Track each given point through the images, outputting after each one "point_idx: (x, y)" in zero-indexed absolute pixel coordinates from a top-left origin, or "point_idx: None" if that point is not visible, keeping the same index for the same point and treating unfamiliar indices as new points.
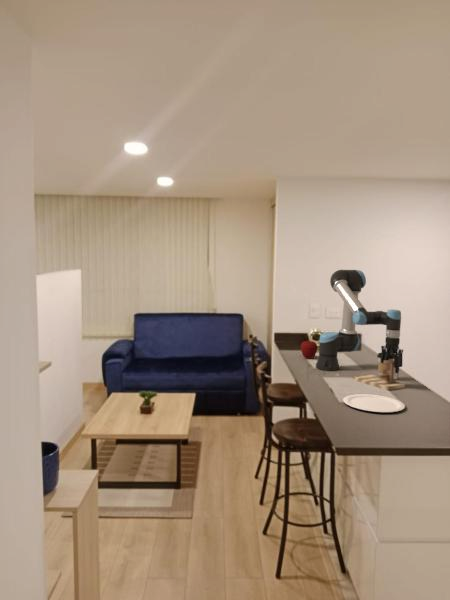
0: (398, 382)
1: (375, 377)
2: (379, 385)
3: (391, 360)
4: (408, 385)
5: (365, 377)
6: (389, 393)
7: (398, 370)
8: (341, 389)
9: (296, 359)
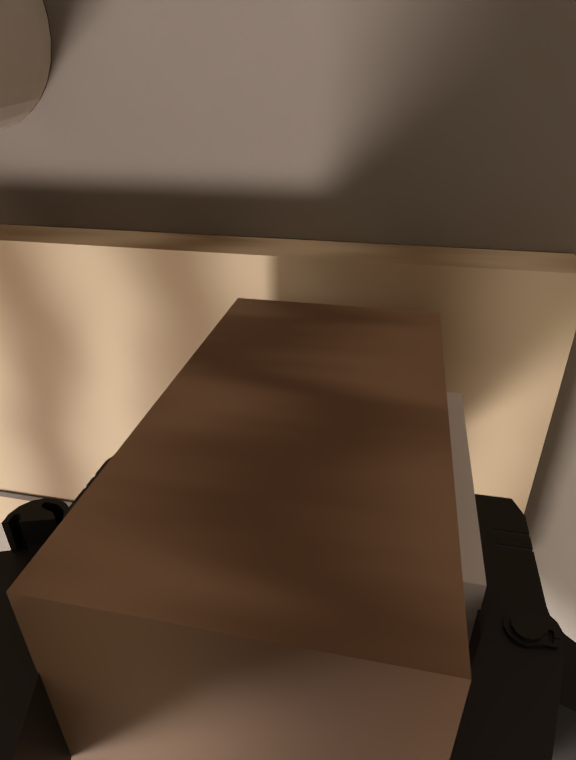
0: (438, 281)
1: (41, 334)
2: None
3: (167, 701)
4: (539, 27)
5: (16, 445)
6: (571, 636)
7: (531, 564)
8: None
9: None
